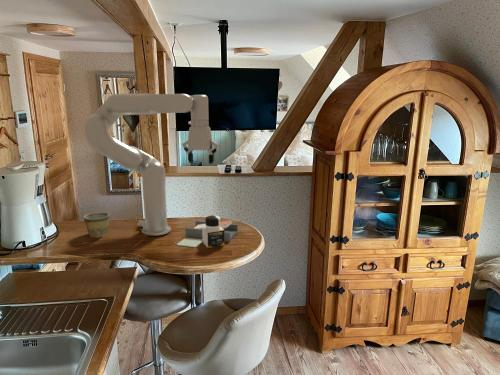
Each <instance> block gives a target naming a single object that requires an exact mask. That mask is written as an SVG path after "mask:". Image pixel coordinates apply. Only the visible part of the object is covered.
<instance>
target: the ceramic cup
mask: <svg viewBox="0 0 500 375" xmlns="http://www.w3.org/2000/svg"><path fill="white" fill-rule="evenodd" d="M83 221H84V224H85V226H86V230H87V232H88V235H89V237H90V238H95V239H98V238H103V237H105V236H107V235H108V232H109V231H108V230H109V222H110V213H108V212H102V211H101V212H100V211H99V212H91V213H87V214H85V215H84V216H83Z"/></svg>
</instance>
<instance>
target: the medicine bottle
mask: <svg viewBox="0 0 500 375" xmlns="http://www.w3.org/2000/svg"><path fill="white" fill-rule="evenodd" d="M204 221H205V223H206V226H205V227H202V239H203V242H202V244H203V245H204V246H205V247H206V248H207V249H211V248H216V247H217V248H218V247H223V246H225V241H224V229H223V228H221V227H220V222H221V217H220V216H219V215H215V214H214V215H208V216H206V217H205V220H204Z"/></svg>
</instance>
